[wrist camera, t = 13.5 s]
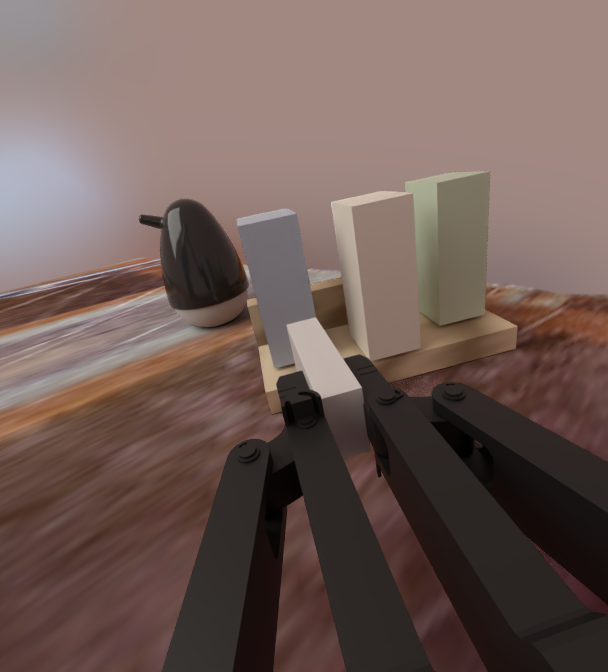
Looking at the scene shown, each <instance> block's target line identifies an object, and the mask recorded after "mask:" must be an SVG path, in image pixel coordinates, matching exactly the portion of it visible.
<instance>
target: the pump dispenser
mask: <svg viewBox="0 0 608 672" xmlns="http://www.w3.org/2000/svg"><path fill="white" fill-rule="evenodd" d="M139 221H140V223H141V224H145V225H148V226H152V227H155V228H159V229H161V236H160V259H161V269H162V275H163V281H164V285H165V290H166V294H167V297H168V300H169V303H170V305H171V307H172V308H174V309H175V310H176V311H177V313H178V314H179V315H180V317H181V318H182V319H184V320H185V321H186V322H188V323H189V324H192V325H194V326H198V327H215V326H219V325H222V324H225V323H227V322H230V321H231V320H233V319H234V318H236V317H237V316H238V315H239V314H240V313H241V312H242V310H243V309H244V307H245V305H246V301H247V288H248V287H249V283H248V279H247V275H246V273H245V270H244V268H243V265H242V263H241V260H240V258H239V256H238V254H237V251H236V250H235V248H234V246H233V244H232V242H231V240H230V239H229V237H228V236H227V234H226V232H225V231H224V229H223V228H222V226H221V225H220V224H219V222H218V221H217V220H216V218H215V217H214V216H213V215H212V213H210V211H209V210H208V209H207V208H206V207H205V206H204V205H202V204H201V203H199V202H198V201H195V200H192V199H180V200H177V201H175V202H173V203H172V204H170V205H169V207H168V208H167V209H166V211H165V213H164V216H163V217H158V216H149V215H140V217H139Z"/></svg>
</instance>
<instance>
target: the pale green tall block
mask: <svg viewBox="0 0 608 672" xmlns="http://www.w3.org/2000/svg"><path fill="white" fill-rule="evenodd" d="M405 188H406V193H413V198H414V219H415V240H416V260H417V281H418V302H419V311H420V312H421V313H422V314H424V315H425V316H427V317H428V318H429V319H431V320H432V321H434V322H435V323H437V324H438V325H439V326H441V325H445V324H449V323H453V322H457V321H461V320H465V319H469V318H472V317H476V316H480V315H484V314H485V294H486V267H487V241H488V240H487V239H488V216H489V190H490V171H483V172H450V173H446V174H442V175H437V176H432V177H428V178H423V179H418V180H414V181H409V182H405Z"/></svg>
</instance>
